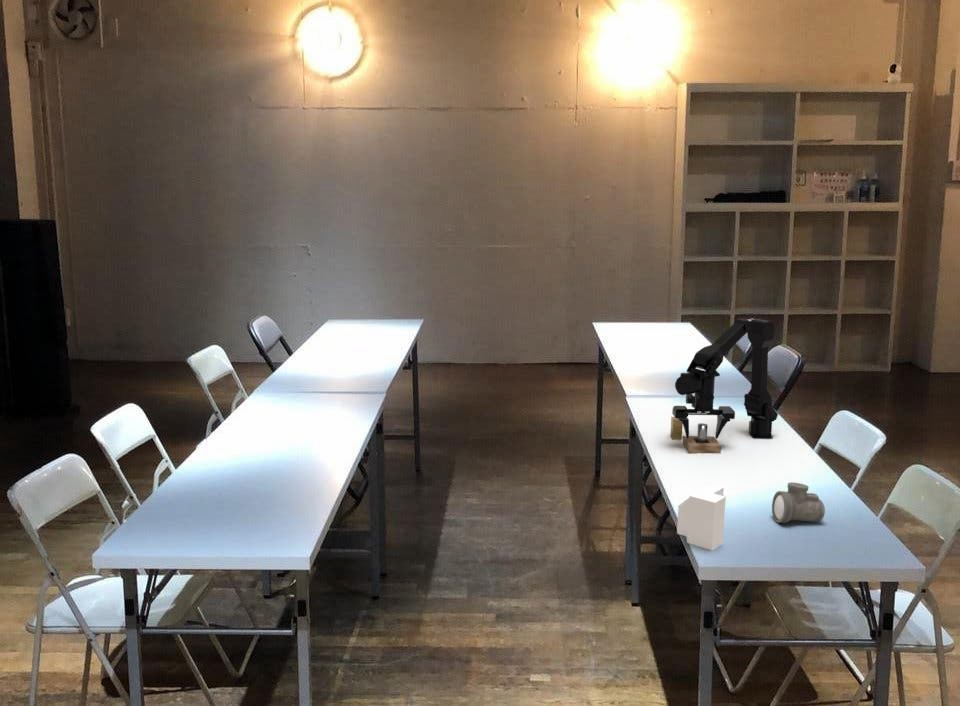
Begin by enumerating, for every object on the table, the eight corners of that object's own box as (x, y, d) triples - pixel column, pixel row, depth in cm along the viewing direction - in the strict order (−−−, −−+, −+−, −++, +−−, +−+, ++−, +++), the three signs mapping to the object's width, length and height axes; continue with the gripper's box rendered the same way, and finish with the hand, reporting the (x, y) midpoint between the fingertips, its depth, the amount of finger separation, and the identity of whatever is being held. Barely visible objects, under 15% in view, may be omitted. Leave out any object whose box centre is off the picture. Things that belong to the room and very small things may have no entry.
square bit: (679, 437, 309) (681, 416, 307) (681, 439, 306) (682, 419, 304) (670, 436, 309) (671, 416, 308) (672, 439, 306) (673, 419, 304)
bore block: (713, 444, 301) (713, 436, 301) (720, 453, 292) (721, 445, 291) (682, 443, 302) (682, 436, 301) (688, 453, 292) (689, 445, 291)
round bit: (705, 447, 298) (706, 423, 296) (707, 450, 295) (708, 426, 293) (695, 447, 298) (697, 423, 296) (697, 450, 295) (699, 425, 293)
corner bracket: (712, 550, 220) (715, 502, 217) (670, 537, 227) (672, 491, 225) (732, 537, 227) (736, 490, 225) (691, 525, 235) (694, 480, 232)
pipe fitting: (779, 526, 233) (786, 487, 232) (768, 517, 241) (774, 478, 240) (825, 531, 234) (832, 492, 233) (812, 521, 242) (819, 483, 241)
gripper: (728, 385, 300) (725, 431, 304) (670, 384, 301) (668, 430, 304) (736, 393, 289) (733, 441, 293) (676, 393, 290) (674, 440, 293)
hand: (701, 438), depth 296 cm, fingers open, 9 cm apart
